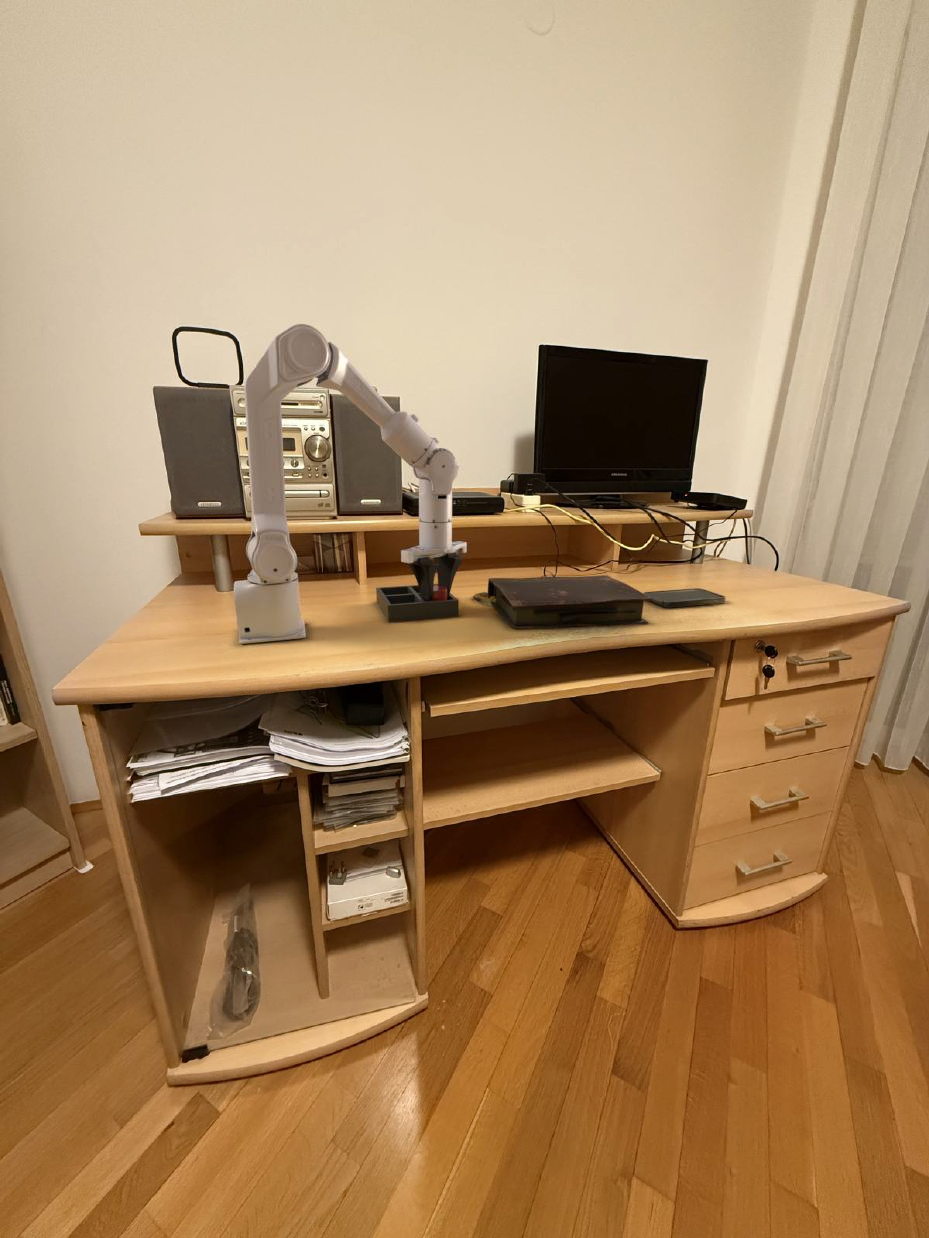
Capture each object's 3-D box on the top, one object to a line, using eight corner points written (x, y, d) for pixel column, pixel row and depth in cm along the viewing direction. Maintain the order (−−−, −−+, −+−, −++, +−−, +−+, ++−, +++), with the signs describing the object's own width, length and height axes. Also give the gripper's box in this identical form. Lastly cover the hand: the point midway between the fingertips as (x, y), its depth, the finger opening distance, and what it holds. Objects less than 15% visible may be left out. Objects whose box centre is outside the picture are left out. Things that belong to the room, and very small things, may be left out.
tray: (388, 622, 84) (387, 605, 83) (376, 602, 95) (376, 587, 95) (458, 616, 88) (458, 600, 87) (439, 597, 99) (439, 583, 98)
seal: (470, 613, 95) (548, 615, 93) (470, 590, 93) (549, 591, 91) (475, 595, 103) (546, 597, 102) (474, 574, 102) (547, 575, 100)
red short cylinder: (428, 607, 87) (428, 591, 86) (422, 601, 91) (422, 586, 90) (449, 606, 88) (449, 590, 87) (443, 600, 92) (443, 584, 91)
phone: (641, 592, 101) (700, 587, 106) (640, 597, 102) (699, 592, 106) (666, 602, 94) (729, 597, 98) (665, 608, 95) (727, 602, 99)
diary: (486, 599, 98) (487, 575, 96) (603, 596, 102) (605, 572, 101) (512, 633, 81) (514, 604, 79) (650, 627, 85) (655, 599, 83)
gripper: (421, 527, 77) (422, 609, 81) (479, 519, 87) (478, 593, 92) (391, 522, 82) (394, 601, 86) (451, 516, 92) (450, 586, 96)
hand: (435, 596), depth 89 cm, fingers closed on red short cylinder, 4 cm apart
